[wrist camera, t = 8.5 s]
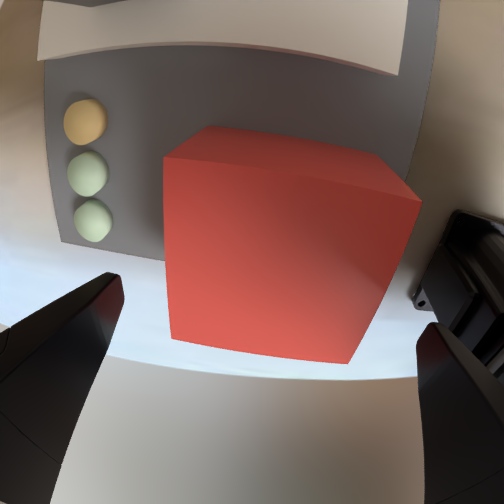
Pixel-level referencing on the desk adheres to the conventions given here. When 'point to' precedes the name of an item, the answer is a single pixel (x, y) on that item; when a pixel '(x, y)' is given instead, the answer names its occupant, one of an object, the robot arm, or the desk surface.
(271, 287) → the red block
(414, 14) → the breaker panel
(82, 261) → the desk surface
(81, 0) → the grey cube
